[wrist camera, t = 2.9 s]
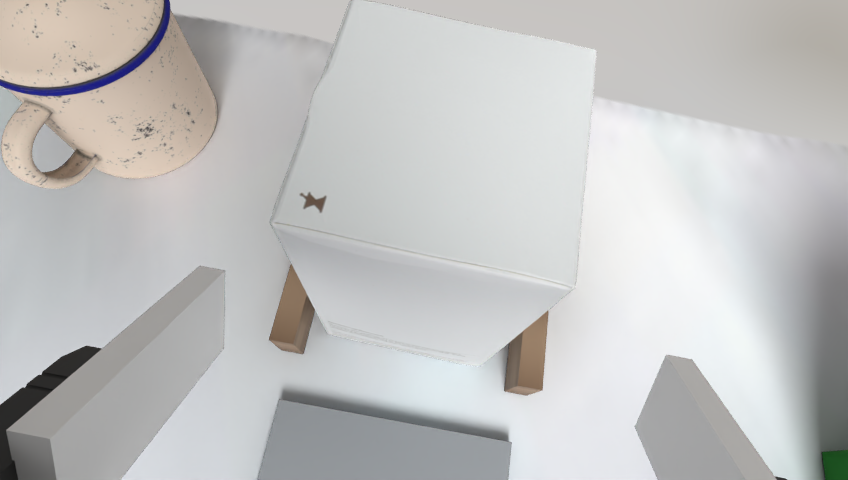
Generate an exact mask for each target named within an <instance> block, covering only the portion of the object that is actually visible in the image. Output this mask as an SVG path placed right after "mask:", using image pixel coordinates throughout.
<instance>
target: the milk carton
mask: <svg viewBox="0 0 848 480" xmlns="http://www.w3.org/2000/svg"><path fill="white" fill-rule="evenodd" d="M822 456H823V464H824V472H825V480H848V450H841V451H829V452H822Z"/></svg>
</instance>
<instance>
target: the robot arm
mask: <svg viewBox="0 0 848 480" xmlns="http://www.w3.org/2000/svg"><path fill="white" fill-rule="evenodd" d="M224 313H225V270H219V269H214V268H209V267H204V266H199V267H198V268H197V269H195V270H194V271H193V272H192V273H191V274H189V275H188V276H187V277H186V278H185V279H184V280H182V281H181V282H180V283H179V284H178V285H177V286H175V287H174V288H173V289H172V290H171V291H169V292H168V293H167V294H166V295H165V296H164V297H162V298H161V299H160V300H159V301H158V302H157V303H155V304H154V305H153V306H152V307H151V308H149V309H148V310H147V311H146V312H145V313H144V314H142V315H141V316H140V317H139V318H138V319H137V320H135V321H134V322H133V323H132V324H131V325H129V326H128V327H127V328H126V329H125V330H124V331H122V332H121V333H120V334H119V335H118V336H116V337H115V338H114V339H113V340H112V341H111V342H109V343H108V344H107V345H106V346H105V347H104V348H102V349H101V348H96V347H90V346H85V347H82V348H80V349H78V350H76V351H74V352H71V353H69V354H67V355H65V356H62V357H61V358H60V359H58V360H57V361H56V362H54V363H53V364H52V365H51V366H49V367H48V368H47V369H46V370H44V371H43V372H42V375H38V376H37V377H35V378H34V379H33V380H32V381H30V382H29V383H28V384H27V386H26V387H25V388H21V389H20V390H19V391H17V392H16V393H15V394H14V395H12V396H11V397H10V398H9V399H7V400H6V401H5V402H3V403H2V404H1V405H0V480H121V479H122V477H123V476H124V475H125V473H126V472H127V471H128V470H129V468H130V467H131V466H132V465H133V463H134V462H135V461H136V459H137V458H138V457H139V456H140V454H141V453H142V452H143V451H144V449H145V448H146V447H147V445H148V444H149V443H150V442H151V440H152V439H153V438H154V437H155V435H156V434H157V433H158V431H159V430H160V429H161V428H162V426H163V425H164V424H165V423H166V421H167V420H168V419H169V417H170V416H171V415H172V414H173V412H174V411H175V410H176V408H177V407H178V406H179V405H180V403H181V402H182V401H183V400H184V398H185V397H186V396H187V394H188V393H189V392H190V391H191V389H192V388H193V387H194V386H195V384H196V383H197V382H198V380H199V379H200V378H201V377H202V375H203V374H204V373H205V372H206V370H207V369H208V368H209V366H210V365H211V364H212V363H213V361H214V360H215V359H216V358H217V356H218V355H219V354H220V352H221V351H222V350H223V349H224ZM635 429H636V431H637V433H638V435H639V438H640V440H641V442H642V445H643V447H644V449H645V452H646V454H647V456H648V458H649V461H650V463H651V465H652V468H653V470H654V472H655V474H656V477H657V479H658V480H787V479H785V478H780V477H775V476H774V475H773V473H772V472H771V471H770V469H769V468H768V466H767V465H766V464H765V462H764V461H763V459H762V458H761V456H760V455H759V454H758V452H757V451H756V449H755V448H754V447H753V445H752V444H751V442H750V441H749V440H748V438H747V437H746V435H745V434H744V432H743V431H742V430H741V428H740V427H739V425H738V424H737V423H736V421H735V420H734V418H733V417H732V415H731V414H730V413H729V411H728V410H727V408H726V407H725V406H724V404H723V403H722V401H721V400H720V398H719V397H718V396H717V394H716V393H715V391H714V390H713V389H712V387H711V386H710V384H709V383H708V381H707V380H706V379H705V377H704V376H703V374H702V373H701V372H700V370H699V369H698V367H697V366H696V364H695V363H694V362H693V360H692V359H687V358H681V357H676V356H671V355H666V356H665V358H664V361H663V363H662V365H661V368H660V370H659V372H658V374H657V377H656V379H655V381H654V384H653V386H652V388H651V391H650V393H649V395H648V398H647V400H646V402H645V404H644V407H643V409H642V411H641V414H640V416H639V418H638V421H637V423H636V425H635Z"/></svg>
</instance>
